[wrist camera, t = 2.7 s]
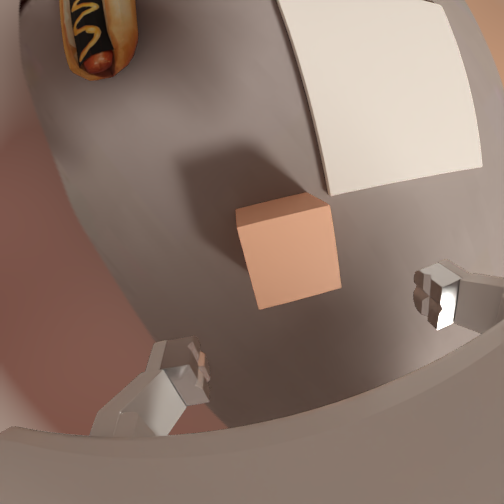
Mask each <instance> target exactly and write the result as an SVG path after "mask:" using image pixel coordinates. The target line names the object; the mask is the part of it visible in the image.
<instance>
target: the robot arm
mask: <svg viewBox="0 0 504 504" xmlns="http://www.w3.org/2000/svg"><path fill="white" fill-rule="evenodd" d="M414 283H415V284H416V285H417V286H416V288H415V290H414V292H413V300H414V304H415V307H416V309H417V310H418V312H419V313H420V314H422V315H425V316H428V322H429V323H430V324H432V325H433V326H434V327H435V328H436V329H437V330H438V329H440V328H443V327H445V326H447V325H449V324H451V323H453V322H454V323H455V324H457V325H460V326H462V327H465V328H468V329H470V330H473V331H475V332H478V333H480V334H481V335H479V336H478V337H476V338H474V339H473V340H471V341H470V342H468V343H466V344H464V345H463V346H461V347H459V348H458V349H456V350H454V351H452V352H450V353H449V354H447V355H445V356H443V357H441V358H439V359H437V360H435V361H434V362H432V363H430V364H428V365H426V366H424V367H422V368H419V369H417V370H415V371H413V372H411V373H409V374H407V375H404V376H402V377H400V378H398V379H396V380H393V381H391V382H389V383H386V384H384V385H381V386H379V387H376V388H374V389H371V390H369V391H366V392H364V393H361V394H358V395H355V396H353V397H350V398H347V399H344V400H341V401H338V402H335V403H332V404H329V405H326V406H323V407H319V408H316V409H313V410H309V411H306V412H302V413H298V414H295V415H291V416H287V417H283V418H279V419H274V420H270V421H265V422H261V423H256V424H251V425H246V426H240V427H234V428H228V429H223V430H215V431H208V432H200V433H191V434H180V435H168V434H169V432H170V431H171V429H172V428H173V426H174V425H175V423H176V422H177V420H178V419H179V418H180V416H181V415H182V413H183V412H184V410H185V409H186V406H189V405H196V404H202V403H207V402H210V387H209V385H208V383H207V382H208V381H209V380H210V367H209V363H208V360H207V357H206V355H205V354H204V353H203V352H201V351H200V346H201V344H200V342H199V340H198V338H197V336H195V335H192V336H187V337H182V338H176V339H170V340H165V341H160V342H156V343H154V344H153V348H152V351H151V354H150V357H149V361H148V364H147V367H146V371H145V372H142V373H140V374H139V375H138V376H137V377H136V378H135V379H134V380H133V381H131V383H129V384H128V385H127V386H126V387H125V388H124V389H123V390H122V391H120V392H119V393H118V394H117V395H116V396H115V397H114V398H113V399H112V400H110V401H109V402H108V403H107V404H106V405H105V406H104V407H103V408H102V409H100V410H99V411H98V413H97V416H96V418H95V421H94V424H93V426H92V429H91V432H90V435H89V436H82V435H71V434H61V433H53V432H45V431H38V430H33V429H27V428H23V427H16V426H14V427H9V428H8V429H6V430H4V431H2V432H1V433H0V504H504V278H502V277H496V276H490V275H483V274H477V273H473V274H470V273H469V272H467V271H466V270H464V269H463V268H461V267H459V266H458V265H456V264H455V263H453V262H451V261H450V260H448V259H444V260H442V261H439V262H437V263H435V264H433V265H430V266H428V267H426V268H423V269H421V270H418V271H416V272H415V274H414ZM167 435H168V436H167Z"/></svg>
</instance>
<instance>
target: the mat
mask: <svg viewBox="0 0 504 504" xmlns="http://www.w3.org/2000/svg"><path fill="white" fill-rule="evenodd" d="M276 1H277V4H278V7H279V10H280V12H281V15H282V18H283V21H284V24H285V27H286V30H287V33H288V36H289V39H290V42H291V45H292V48H293V51H294V54H295V58H296V61H297V64H298V68H299V71H300V75H301V78H302V82H303V85H304V89H305V93H306V96H307V100H308V104H309V108H310V112H311V116H312V120H313V124H314V128H315V133H316V137H317V141H318V146H319V151H320V155H321V160H322V165H323V170H324V175H325V180H326V185H327V191H328V195H330V196H333V195H338V194H342V193H347V192H352V191H356V190H361V189H366V188H371V187H375V186H380V185H385V184H390V183H395V182H400V181H405V180H411V179H416V178H421V177H426V176H432V175H437V174H443V173H449V172H454V171H460V170H466V169H472V168H479V167H482V156H481V147H480V139H479V132H478V125H477V120H476V114H475V109H474V104H473V99H472V95H471V90H470V86H469V82H468V79H467V75H466V71H465V68H464V64H463V61H462V58H461V55H460V52H459V49H458V46H457V43H456V40H455V37H454V35H453V32H452V29H451V27H450V24H449V22H448V19H447V17H446V15H445V12H444V10H443V8H442V6H441V5H439V4H435V3H431V2H427V1H423V0H276Z"/></svg>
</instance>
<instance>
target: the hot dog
mask: <svg viewBox="0 0 504 504" xmlns="http://www.w3.org/2000/svg"><path fill="white" fill-rule="evenodd" d="M59 5H60V18H61V28H62V37H63V44H64V50H65V54H66V58H67V62H68V65H69V68H70V70H71V71H72V72H73V73H75V74H77V75H78V76H80V77H83V78H85V79H87V80H89V81H92V80H100V79H105V78H110V77H113V76H115V75H116V74H117V73H118V72H120V71H121V70H122V69H123V68H125V67H126V66H127V65H128V64H129V62H130V61H131V59H132V57H133V56H134V52H135V49H136V46H137V42H138V27H137V17H136V4H135V0H59Z"/></svg>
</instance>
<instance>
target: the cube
mask: <svg viewBox="0 0 504 504" xmlns="http://www.w3.org/2000/svg"><path fill="white" fill-rule="evenodd" d="M235 210H236V224H237V230H238V234H239V238H240V242H241V245H242V249H243V253H244V257H245V260H246V264H247V268H248V271H249V275H250V279H251V282H252V286H253V290H254V293H255V297H256V301H257V304H258V308H259V310H260V309H265V308H269V307H273V306H276V305H280V304H284V303H288V302H292V301H296V300H299V299H303V298H307V297H311V296H314V295H318V294H321V293H325V292H328V291H332V290H335V289H339V288H341V280H340V271H339V263H338V255H337V248H336V241H335V234H334V227H333V221H332V215H331V209H330V205H329V204H327V203H325V202H323V201H322V200H320V199H318V198H316V197H314V196H313V195H311V194H309V193H307V192H305V193H301V194H296V195H292V196H288V197H284V198H279V199H275V200H271V201H267V202H263V203H259V204H255V205H251V206H247V207H243V208H239V209H235Z"/></svg>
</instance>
